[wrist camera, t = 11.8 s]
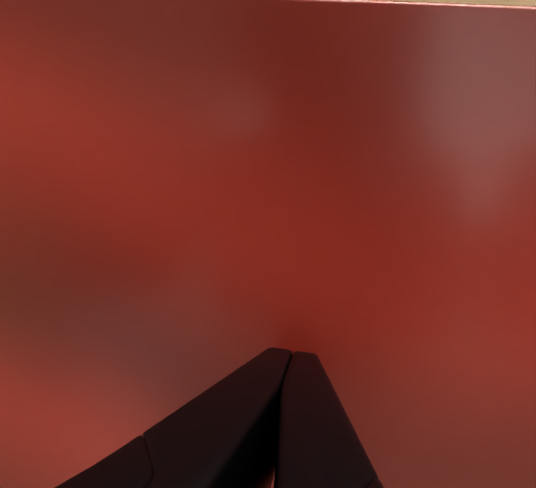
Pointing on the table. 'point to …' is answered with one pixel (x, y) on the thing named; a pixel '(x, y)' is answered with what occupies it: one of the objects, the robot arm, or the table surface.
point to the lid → (269, 223)
